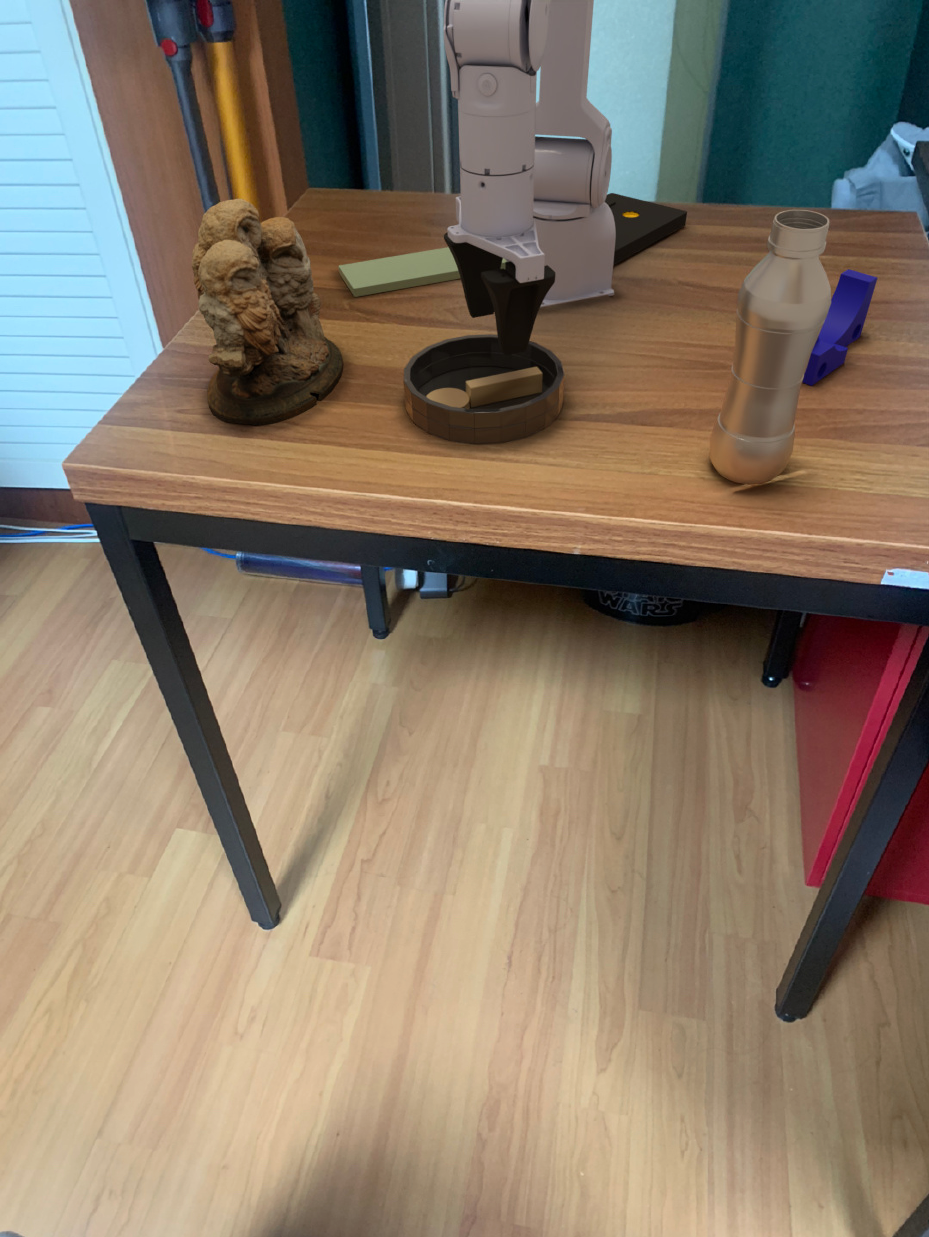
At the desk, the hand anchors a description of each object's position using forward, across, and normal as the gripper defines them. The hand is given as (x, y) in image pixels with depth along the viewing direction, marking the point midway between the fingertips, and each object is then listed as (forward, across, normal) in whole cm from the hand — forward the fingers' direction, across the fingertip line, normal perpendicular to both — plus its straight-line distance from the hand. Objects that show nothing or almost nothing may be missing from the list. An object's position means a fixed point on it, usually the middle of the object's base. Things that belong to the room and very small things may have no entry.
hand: (497, 332), depth 77 cm
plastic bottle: (+7, +18, +15) cm, 24 cm away
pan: (+7, 0, -1) cm, 7 cm away
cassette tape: (+7, -31, +27) cm, 42 cm away
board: (+7, -31, +4) cm, 32 cm away
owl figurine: (+7, -11, -18) cm, 22 cm away
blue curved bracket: (+7, +4, +32) cm, 33 cm away
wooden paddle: (+6, 0, -1) cm, 6 cm away
